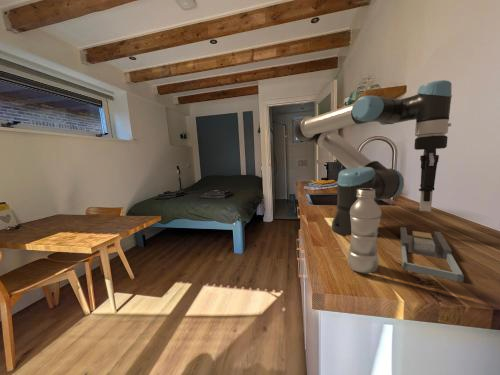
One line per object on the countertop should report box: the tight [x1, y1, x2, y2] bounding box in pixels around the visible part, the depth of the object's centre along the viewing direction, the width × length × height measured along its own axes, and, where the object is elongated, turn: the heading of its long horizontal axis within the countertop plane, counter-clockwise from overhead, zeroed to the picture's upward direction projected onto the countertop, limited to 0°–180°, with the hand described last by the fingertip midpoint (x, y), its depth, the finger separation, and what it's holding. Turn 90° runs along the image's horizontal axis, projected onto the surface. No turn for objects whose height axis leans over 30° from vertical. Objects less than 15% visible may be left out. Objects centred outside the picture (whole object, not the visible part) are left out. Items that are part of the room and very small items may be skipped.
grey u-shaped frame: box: [400, 246, 465, 283], centre depth 49 cm, size 10×11×2 cm
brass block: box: [411, 230, 434, 243], centre depth 60 cm, size 4×4×3 cm
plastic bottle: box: [346, 188, 382, 275], centre depth 48 cm, size 6×7×20 cm
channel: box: [399, 226, 453, 260], centre depth 59 cm, size 10×15×3 cm, turn 145°
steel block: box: [413, 237, 435, 254], centre depth 56 cm, size 4×4×3 cm
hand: (425, 210), depth 65 cm, fingers closed
